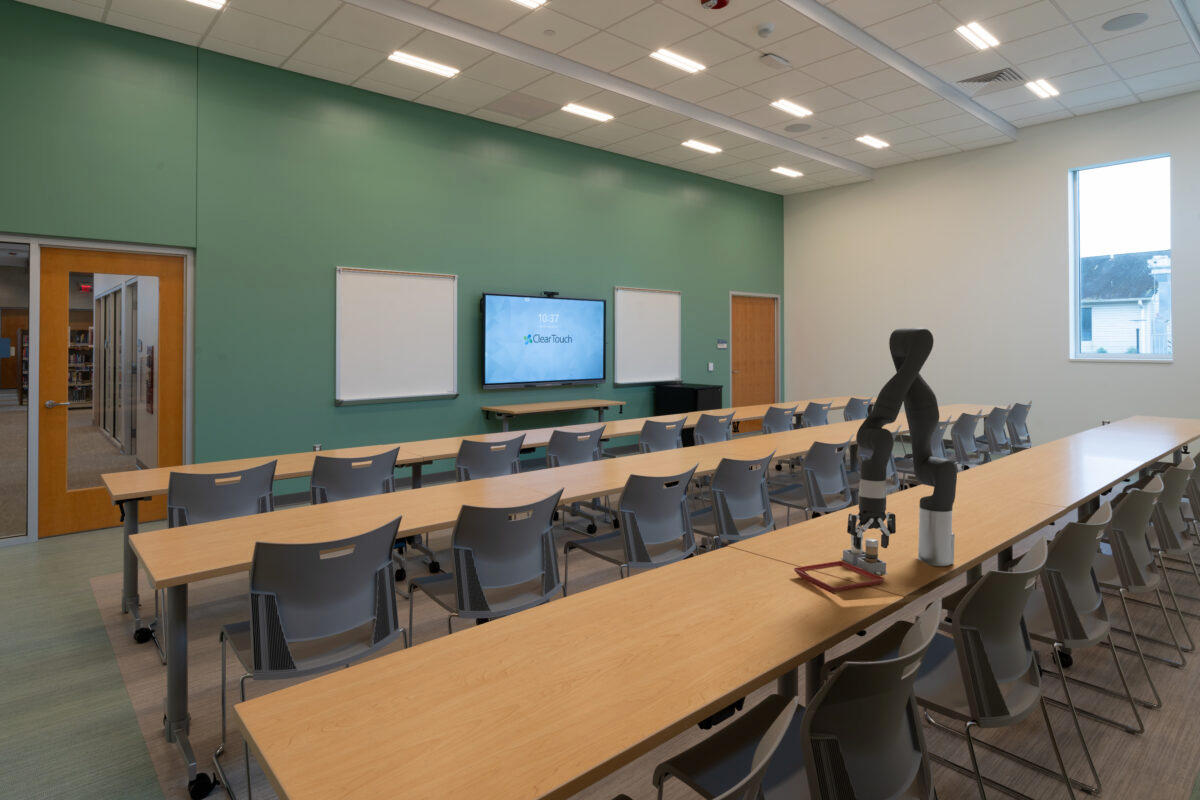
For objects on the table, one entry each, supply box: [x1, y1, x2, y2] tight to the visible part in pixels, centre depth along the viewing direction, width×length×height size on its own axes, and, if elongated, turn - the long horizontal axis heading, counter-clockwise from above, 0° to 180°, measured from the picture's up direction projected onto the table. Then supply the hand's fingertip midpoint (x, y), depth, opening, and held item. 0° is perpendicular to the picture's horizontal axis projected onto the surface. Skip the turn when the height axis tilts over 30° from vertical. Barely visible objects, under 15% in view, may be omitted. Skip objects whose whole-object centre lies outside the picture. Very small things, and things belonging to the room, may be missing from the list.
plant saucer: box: [793, 560, 885, 595], centre depth 189 cm, size 18×18×3 cm
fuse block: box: [839, 548, 889, 576], centre depth 199 cm, size 6×16×4 cm, turn 9°
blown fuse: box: [864, 538, 879, 563], centre depth 195 cm, size 4×4×9 cm
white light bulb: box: [850, 533, 864, 555], centre depth 202 cm, size 4×4×9 cm
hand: (870, 548), depth 194 cm, fingers open, 8 cm apart
